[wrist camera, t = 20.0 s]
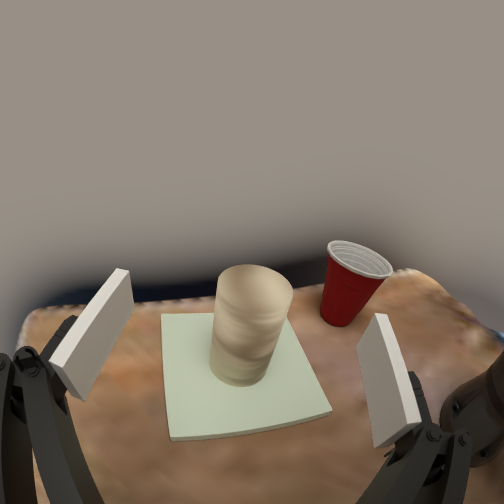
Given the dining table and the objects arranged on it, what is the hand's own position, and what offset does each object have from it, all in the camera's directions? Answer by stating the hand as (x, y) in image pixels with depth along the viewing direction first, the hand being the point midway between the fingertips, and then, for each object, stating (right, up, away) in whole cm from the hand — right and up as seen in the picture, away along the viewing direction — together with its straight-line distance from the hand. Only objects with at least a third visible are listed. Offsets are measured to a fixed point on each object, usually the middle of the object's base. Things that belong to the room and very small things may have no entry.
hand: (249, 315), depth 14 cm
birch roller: (-1, -10, +17) cm, 20 cm away
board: (-2, -11, +18) cm, 21 cm away
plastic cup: (+14, -8, +30) cm, 34 cm away
